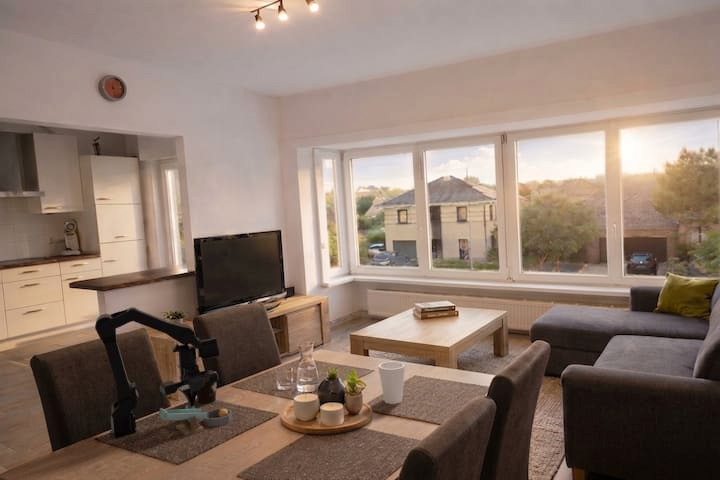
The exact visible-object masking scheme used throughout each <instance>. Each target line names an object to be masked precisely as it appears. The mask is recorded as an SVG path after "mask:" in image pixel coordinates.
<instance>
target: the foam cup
mask: <svg viewBox="0 0 720 480" xmlns="http://www.w3.org/2000/svg"><path fill="white" fill-rule="evenodd" d="M405 373H406V367H405V363H404V362H402V361H394V360H391V361H390V360H389V361H384V362H381V363H379V364H378V375H379V377H380V383H381V384H380V385H381V388H382V395H383V399H384V400H383V401H384V403H385V404H388V403H389V405H398V404H400V403H402V402H403V393H404V383H405V382H404V379H405ZM401 401H402V402H401ZM397 403H398V404H397Z"/></svg>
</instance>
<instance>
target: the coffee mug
mask: <svg viewBox="0 0 720 480" xmlns="http://www.w3.org/2000/svg"><path fill="white" fill-rule="evenodd" d="M216 395H217V381H216V382H212V383H210V382H209V381H207V382H205V383H204V387H202V388H200V389H199V390H198V392H197V395H196V399H197V403H198V404H200V405H209V404H212V403H214V402H216V399H217V397H216Z"/></svg>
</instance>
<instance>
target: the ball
mask: <svg viewBox="0 0 720 480" xmlns="http://www.w3.org/2000/svg"><path fill="white" fill-rule="evenodd" d="M220 409H221V410H220V411H219V413H218V414H219V417H220V418H221V417H224V416H227V415H228V411H227V410H226V409H227V408H220Z"/></svg>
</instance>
